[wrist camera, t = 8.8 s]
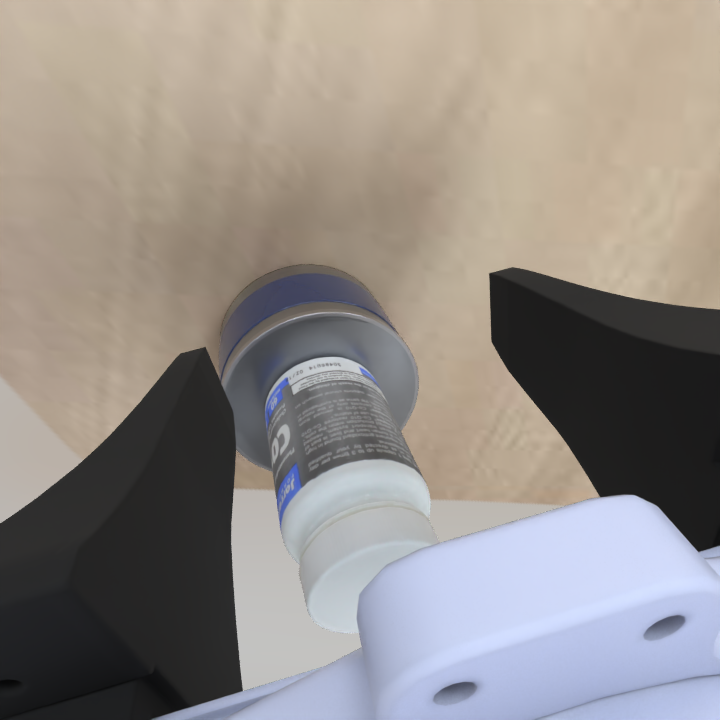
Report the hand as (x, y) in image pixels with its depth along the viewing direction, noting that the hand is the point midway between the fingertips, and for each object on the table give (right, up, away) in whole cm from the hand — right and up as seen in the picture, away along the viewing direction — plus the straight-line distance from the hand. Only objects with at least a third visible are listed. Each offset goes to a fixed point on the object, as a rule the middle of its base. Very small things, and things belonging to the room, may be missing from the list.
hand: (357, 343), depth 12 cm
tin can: (-3, +1, +12) cm, 12 cm away
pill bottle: (-1, -2, +8) cm, 8 cm away
